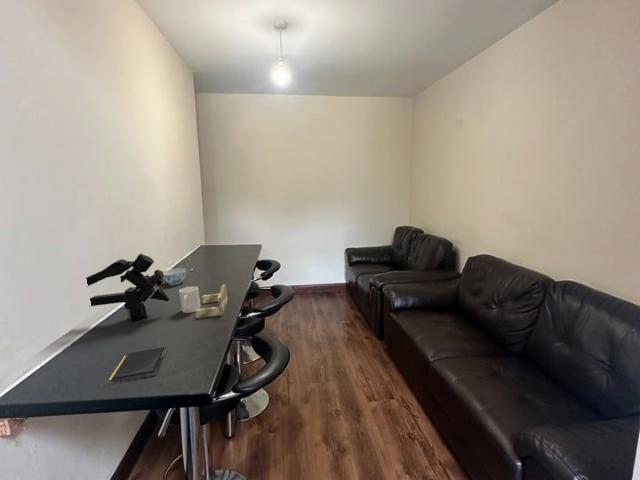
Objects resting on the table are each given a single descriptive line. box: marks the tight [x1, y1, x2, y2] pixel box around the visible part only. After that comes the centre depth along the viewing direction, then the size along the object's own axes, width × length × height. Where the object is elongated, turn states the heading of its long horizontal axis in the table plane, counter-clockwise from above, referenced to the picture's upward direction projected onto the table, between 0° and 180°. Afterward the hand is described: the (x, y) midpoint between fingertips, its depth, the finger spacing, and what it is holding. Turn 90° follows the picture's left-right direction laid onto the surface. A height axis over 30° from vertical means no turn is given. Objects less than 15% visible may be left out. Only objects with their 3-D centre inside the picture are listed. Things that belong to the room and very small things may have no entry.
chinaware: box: [162, 267, 187, 286], centre depth 206 cm, size 15×15×8 cm
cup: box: [178, 285, 201, 314], centre depth 157 cm, size 8×12×10 cm
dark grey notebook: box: [107, 346, 167, 383], centre depth 112 cm, size 20×2×15 cm
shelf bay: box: [195, 283, 228, 319], centre depth 159 cm, size 12×21×8 cm, turn 10°
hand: (168, 300), depth 155 cm, fingers closed
